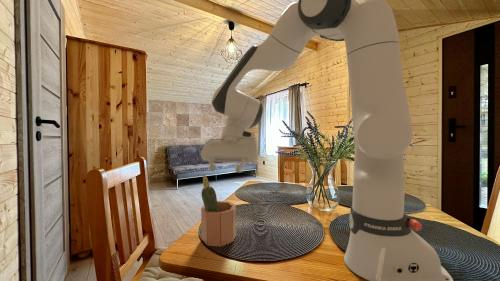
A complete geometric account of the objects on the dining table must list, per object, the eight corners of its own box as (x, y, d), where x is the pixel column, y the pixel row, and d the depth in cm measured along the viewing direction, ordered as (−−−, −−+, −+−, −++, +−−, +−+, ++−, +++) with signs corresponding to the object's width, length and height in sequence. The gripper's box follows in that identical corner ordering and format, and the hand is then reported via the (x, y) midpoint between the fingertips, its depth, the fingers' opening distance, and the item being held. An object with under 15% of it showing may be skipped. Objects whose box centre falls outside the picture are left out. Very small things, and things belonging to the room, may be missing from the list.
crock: (238, 231, 77) (238, 202, 76) (230, 247, 67) (230, 214, 66) (209, 228, 79) (209, 200, 78) (198, 244, 69) (197, 212, 68)
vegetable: (224, 237, 70) (206, 177, 67) (211, 239, 71) (193, 179, 68) (228, 228, 75) (211, 171, 71) (216, 230, 76) (199, 173, 72)
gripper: (204, 133, 86) (192, 164, 77) (258, 133, 81) (252, 166, 72) (209, 143, 90) (199, 174, 82) (261, 144, 85) (255, 177, 77)
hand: (224, 170), depth 77 cm, fingers open, 8 cm apart
